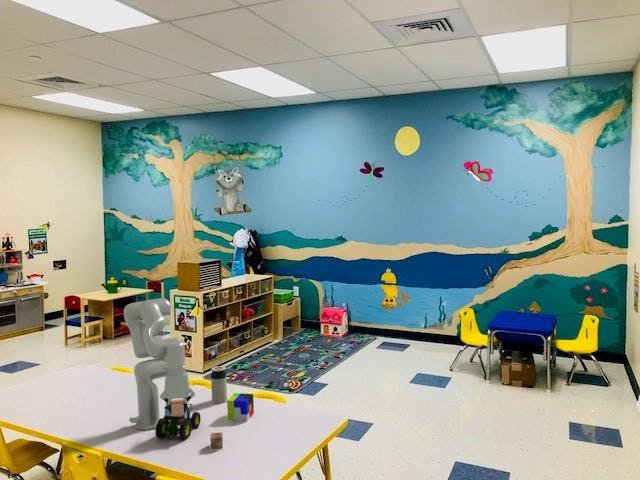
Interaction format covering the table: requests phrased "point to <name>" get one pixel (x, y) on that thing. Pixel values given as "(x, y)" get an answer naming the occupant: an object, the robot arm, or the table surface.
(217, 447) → the walnut block
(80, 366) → the table surface
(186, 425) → the toy tractor
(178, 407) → the terracotta block
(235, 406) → the puzzle toy
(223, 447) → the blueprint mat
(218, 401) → the travel mug
